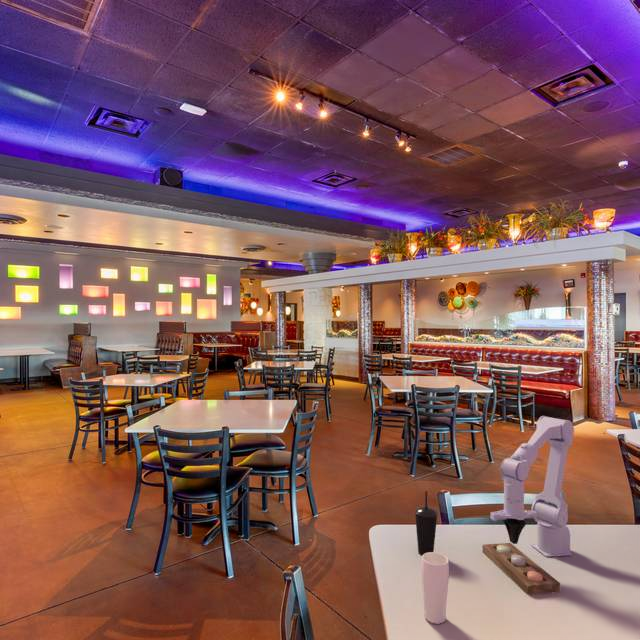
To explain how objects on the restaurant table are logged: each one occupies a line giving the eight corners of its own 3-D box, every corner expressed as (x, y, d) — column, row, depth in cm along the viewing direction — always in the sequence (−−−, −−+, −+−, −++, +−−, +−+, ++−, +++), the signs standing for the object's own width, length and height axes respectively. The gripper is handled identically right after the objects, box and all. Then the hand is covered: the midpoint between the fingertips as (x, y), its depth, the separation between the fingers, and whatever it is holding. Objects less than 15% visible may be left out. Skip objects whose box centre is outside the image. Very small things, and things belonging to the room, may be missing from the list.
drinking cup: (422, 545, 151) (422, 485, 152) (442, 553, 146) (442, 491, 147) (409, 552, 146) (409, 491, 147) (429, 561, 141) (430, 497, 141)
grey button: (520, 562, 138) (520, 554, 139) (528, 569, 135) (528, 560, 135) (508, 563, 138) (508, 555, 138) (516, 570, 134) (516, 561, 134)
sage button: (505, 552, 146) (505, 544, 146) (512, 558, 142) (512, 550, 142) (494, 553, 146) (494, 545, 146) (501, 559, 142) (501, 551, 142)
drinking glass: (417, 610, 116) (418, 552, 116) (442, 609, 116) (443, 551, 117) (425, 627, 109) (426, 565, 109) (452, 626, 110) (453, 564, 110)
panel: (510, 550, 149) (510, 542, 149) (560, 592, 125) (560, 582, 125) (482, 552, 147) (482, 544, 147) (527, 594, 123) (527, 585, 124)
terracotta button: (536, 579, 131) (536, 570, 131) (545, 587, 127) (545, 578, 127) (524, 580, 130) (524, 571, 130) (532, 588, 126) (533, 579, 126)
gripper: (499, 504, 134) (498, 549, 134) (543, 502, 136) (543, 547, 136) (487, 495, 141) (486, 538, 140) (529, 493, 143) (529, 536, 143)
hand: (513, 542), depth 139 cm, fingers closed
